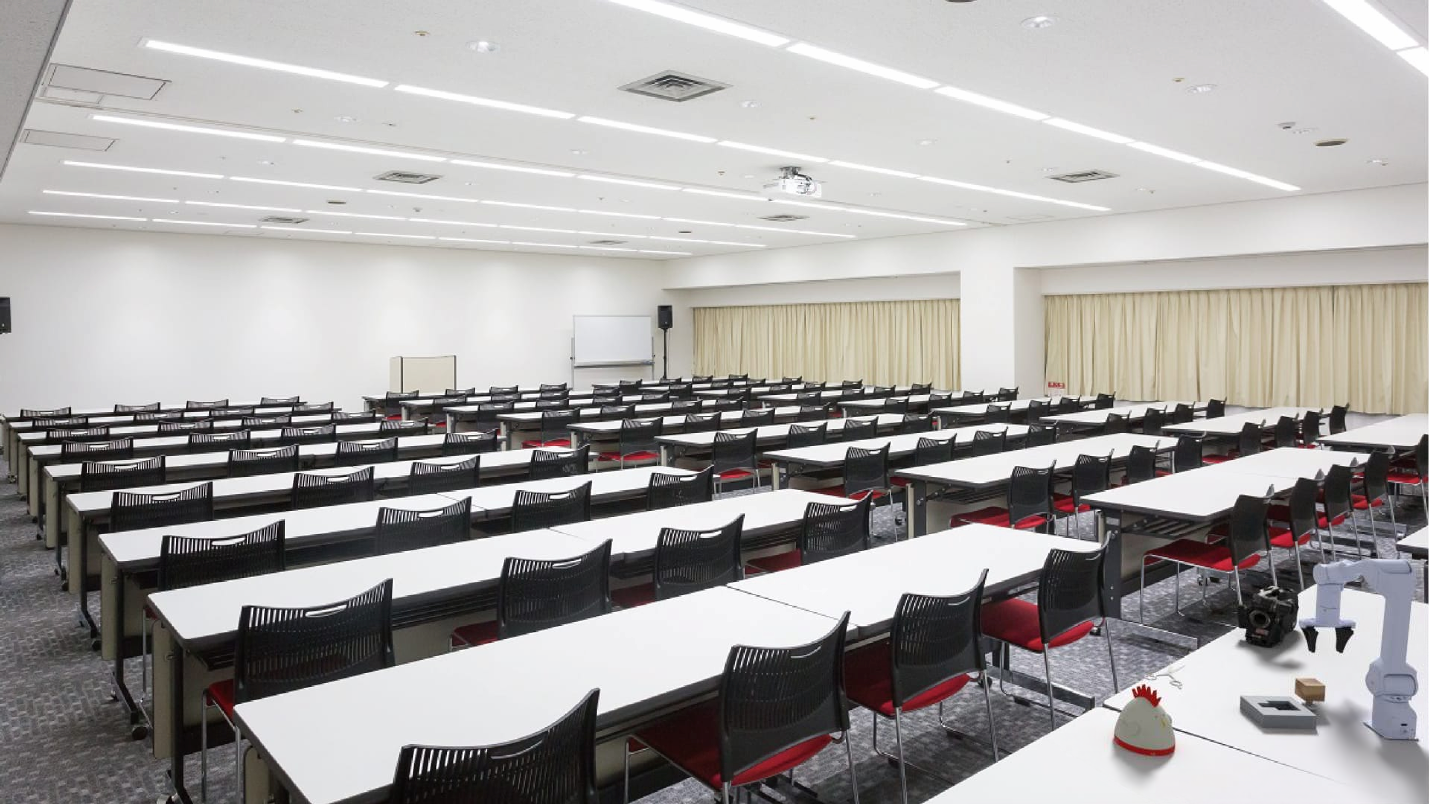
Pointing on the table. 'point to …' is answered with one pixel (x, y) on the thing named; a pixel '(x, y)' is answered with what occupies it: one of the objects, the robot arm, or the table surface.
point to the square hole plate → (1278, 712)
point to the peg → (1310, 691)
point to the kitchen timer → (1145, 725)
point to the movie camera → (1269, 615)
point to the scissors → (1169, 675)
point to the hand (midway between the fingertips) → (1325, 651)
